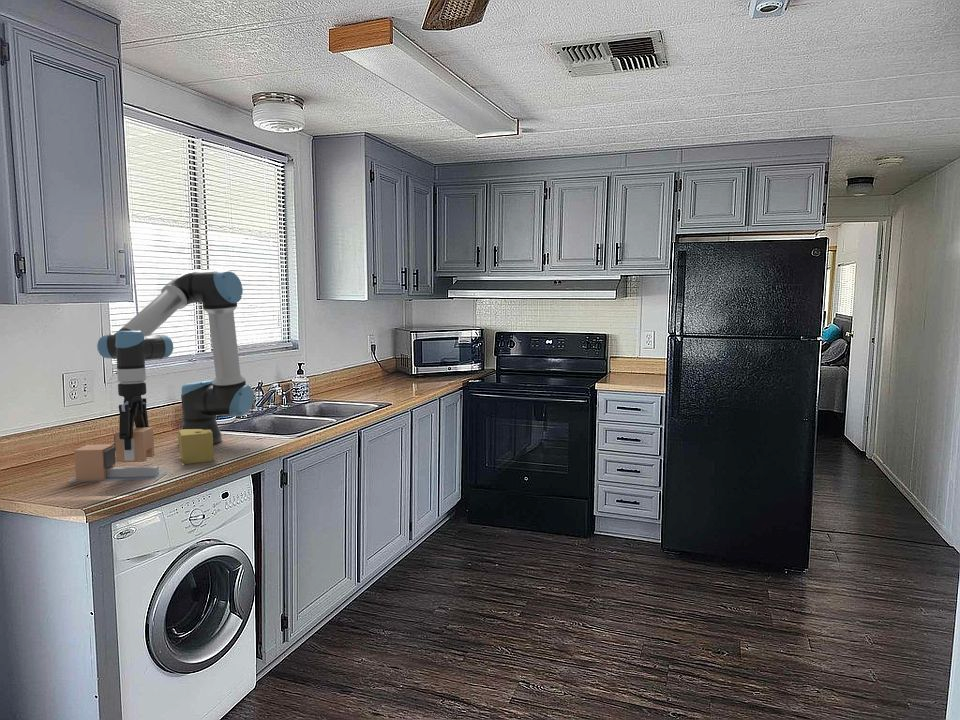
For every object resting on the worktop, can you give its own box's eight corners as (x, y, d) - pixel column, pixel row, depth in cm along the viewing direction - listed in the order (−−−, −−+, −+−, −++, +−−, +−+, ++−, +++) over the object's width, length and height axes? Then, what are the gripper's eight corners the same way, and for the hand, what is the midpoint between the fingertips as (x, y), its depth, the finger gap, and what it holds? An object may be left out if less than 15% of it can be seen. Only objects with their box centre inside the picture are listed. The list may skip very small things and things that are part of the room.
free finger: (125, 456, 209) (124, 427, 208) (154, 455, 209) (152, 427, 209) (114, 462, 201) (112, 432, 201) (144, 461, 202) (142, 432, 201)
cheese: (211, 455, 237) (210, 426, 236) (215, 461, 227) (213, 432, 226) (179, 458, 232) (177, 429, 231) (181, 465, 223) (179, 435, 222)
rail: (84, 475, 210) (83, 464, 210) (167, 473, 212) (166, 462, 211) (66, 484, 200) (66, 473, 200) (154, 482, 202) (153, 471, 201)
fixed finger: (88, 473, 209) (86, 444, 208) (117, 472, 209) (115, 444, 208) (76, 480, 201) (74, 450, 200) (106, 479, 202) (104, 449, 201)
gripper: (133, 378, 213) (137, 449, 215) (102, 386, 193) (107, 465, 195) (158, 377, 214) (161, 449, 216) (129, 386, 193) (134, 465, 196)
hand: (135, 456), depth 205 cm, fingers closed on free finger, 7 cm apart
